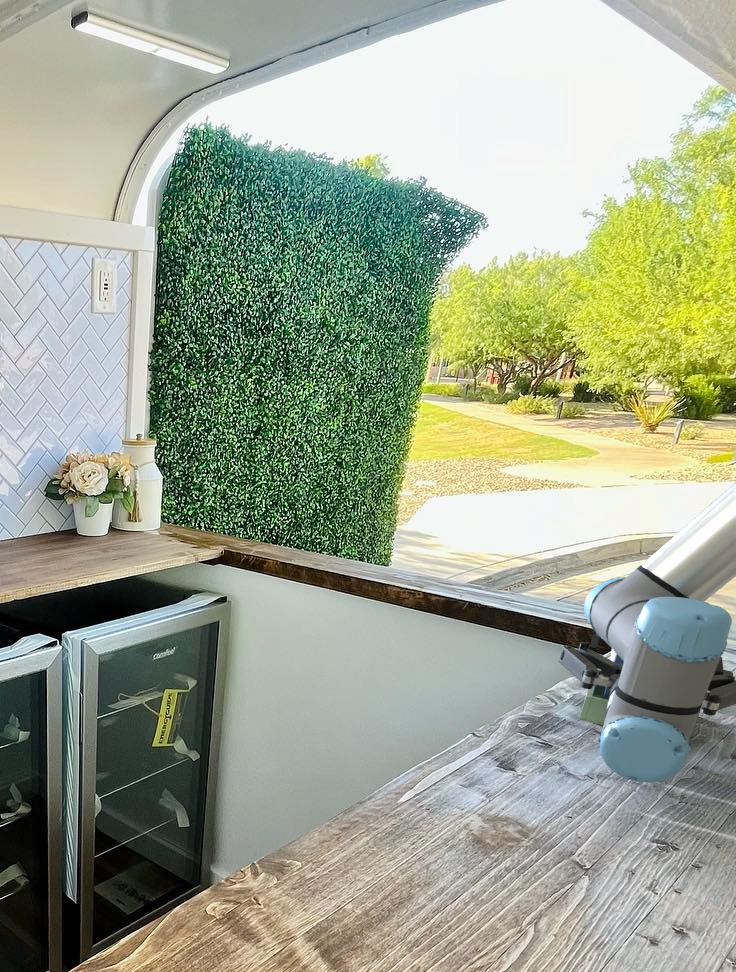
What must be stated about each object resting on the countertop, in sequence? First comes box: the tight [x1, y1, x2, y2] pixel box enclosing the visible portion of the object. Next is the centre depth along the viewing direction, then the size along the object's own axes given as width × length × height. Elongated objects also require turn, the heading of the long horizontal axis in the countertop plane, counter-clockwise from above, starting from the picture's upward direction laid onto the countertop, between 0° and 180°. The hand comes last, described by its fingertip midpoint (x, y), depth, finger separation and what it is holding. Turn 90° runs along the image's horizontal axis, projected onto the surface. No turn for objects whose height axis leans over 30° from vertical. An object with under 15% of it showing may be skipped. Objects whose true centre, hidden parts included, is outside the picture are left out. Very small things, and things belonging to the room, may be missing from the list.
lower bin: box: [578, 685, 609, 725], centre depth 110 cm, size 12×12×4 cm
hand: (652, 653), depth 108 cm, fingers open, 13 cm apart
